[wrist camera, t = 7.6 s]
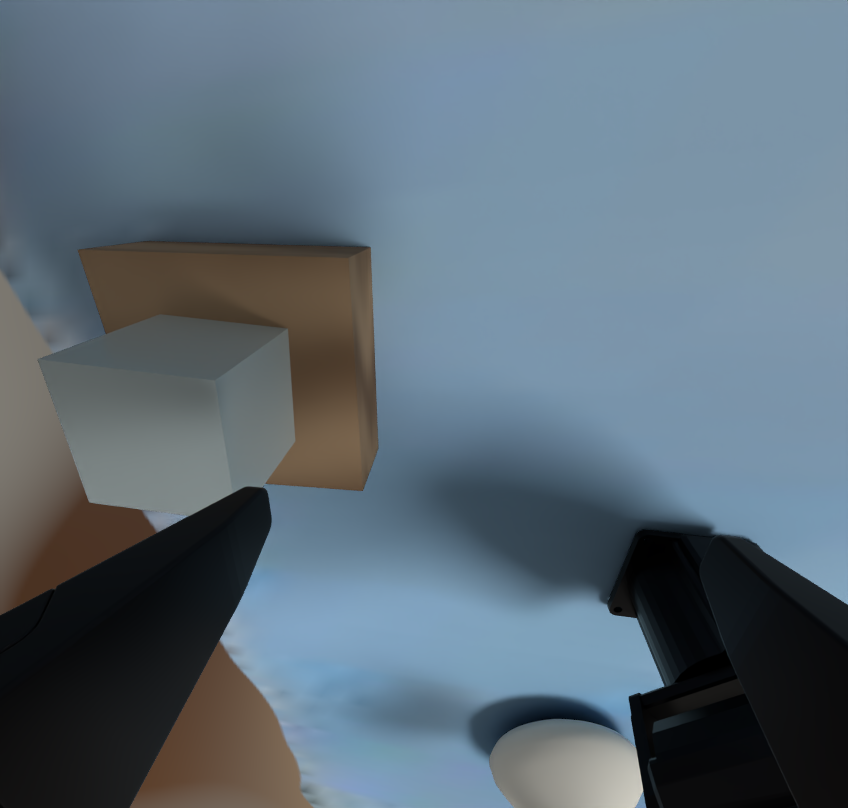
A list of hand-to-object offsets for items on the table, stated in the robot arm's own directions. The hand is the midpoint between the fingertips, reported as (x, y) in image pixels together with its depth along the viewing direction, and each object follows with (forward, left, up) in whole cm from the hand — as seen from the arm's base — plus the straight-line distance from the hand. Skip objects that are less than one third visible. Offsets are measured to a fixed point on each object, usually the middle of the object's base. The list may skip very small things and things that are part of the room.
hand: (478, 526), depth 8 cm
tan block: (-1, +9, -12) cm, 15 cm away
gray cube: (-1, +10, -8) cm, 13 cm away
